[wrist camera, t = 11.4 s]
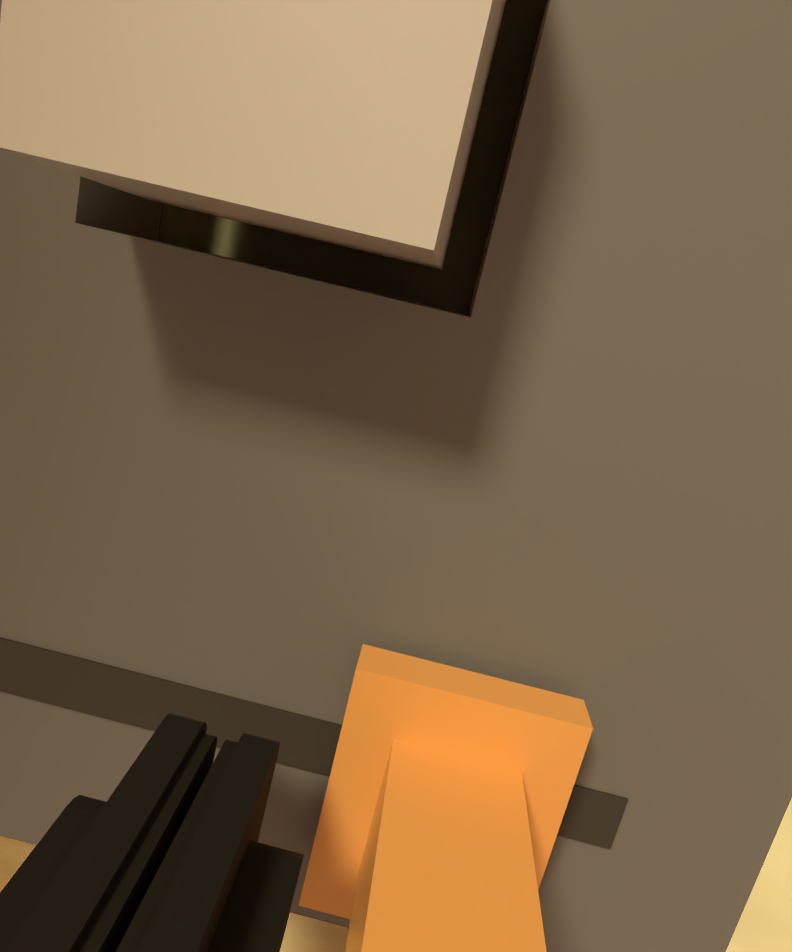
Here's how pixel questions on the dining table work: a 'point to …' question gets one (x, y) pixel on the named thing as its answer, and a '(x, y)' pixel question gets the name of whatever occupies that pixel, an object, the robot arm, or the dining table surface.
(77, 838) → the robot arm
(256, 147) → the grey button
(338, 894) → the orange slider handle
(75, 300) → the switch panel
